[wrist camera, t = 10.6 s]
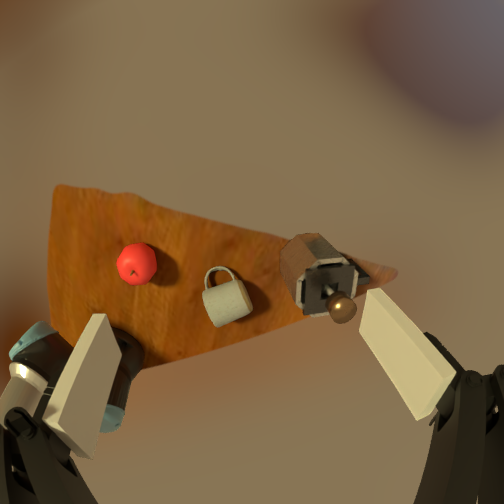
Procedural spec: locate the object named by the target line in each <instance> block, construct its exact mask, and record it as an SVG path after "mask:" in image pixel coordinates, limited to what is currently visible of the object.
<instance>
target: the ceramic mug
mask: <svg viewBox="0 0 504 504" xmlns="http://www.w3.org/2000/svg"><path fill="white" fill-rule="evenodd" d="M217 270H226V271H228V272H229V273H230V275H231V276H232V278H233V280H232V281H229V282H227V283H224V284H221V285H218V286H215V287H212V288H209V287H208V282H207V280H208V275H209V274H210V273H211V272H213V271H217ZM205 288H206V290H204V291H203V293H202V296H203V301H204V305H205V308H206V310H207V313H208V315H209V317H210V319H211V321H212V322H213V324H214V325H215V326H216V327H220V326H222V325H225V324H227V323H230V322H232V321H234V320H236V319H239V318H241V317H243V316H245V315H247V314H249V313H250V312H252V310H253V306H252V303H251V300H250V298H249V295H248V293H247V290H246V288H245V286H244V284H243V282H242V281H241V280H236V279H235V276H234V274H233V273H232V272H231V270H229V269H228V268H227V267H224V266H217V267H214V268H212V269H210V270H209V271H208V272H207V274H206V276H205Z"/></svg>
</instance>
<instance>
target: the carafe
mask: <svg viewBox="0 0 504 504" xmlns="http://www.w3.org/2000/svg"><path fill="white" fill-rule="evenodd" d="M327 263H328V266H326V267H317V266H318V265H319V264H327ZM280 273H281V275H282V277H283V279H284V281H285V283H286V285H287V287H288V289H289V291H290V294H291V296H292V298H293V300H294V302H295V304H296V305H297V306H298V307H300V308H301V309H302V310H303V315H310V316H311V317H319V316H324V315H330V314H329V312H328V311H327V309H326V307H325V302H326V300H327V298H328V297H329V295H328V293H327V292H326V291H325V289H324V288H323V286H322V284H328V285H329V286H330V287H331V289H332V290H333V291H334V292H336V291H344V292H346V293H347V294H348V295H349V297H350V298H351V299H352V298H353V297H354V296H355V293H356V286H357V285H363V284H369V279H370V276H369V275H368V274H367V273H366V272H365V271H364V270H362V269H361V268H360V267H359V266H358V265H357V264H356V263H355V262H354V261H353V260H352V259H345V258H344V257H343V256H342V255H341V254H340V253H339V252H338V251H337V250H336V249H335V248H334V247H333V246H332V245H331V244H330V243H328V241H327V240H325V239H324V238H323V237H322V236H321V235H320V234H319V233H305V234H298V235H296V236H295V237H294V238H293V239H291V240H290V241H289V242H288V243H287V244H286V245H285V247H284V248H283V249H282V250H281V251H280ZM304 279H305V281H303V280H304Z"/></svg>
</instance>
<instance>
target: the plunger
mask: <svg viewBox="0 0 504 504" xmlns="http://www.w3.org/2000/svg"><path fill="white" fill-rule="evenodd" d="M326 266H328V263H327V264H319V265H318V266H317V267H326ZM303 281H305V279H304V280H303ZM322 286H323V288H324V289H325V291H326V292H327V293H328V295H329V297H328V298H327V300H326V302H325V307H326V309H327V311H328V312H329V314H330V315H331V317H332V319H333V320H334V322H336V323H339V324H342V323H346V322H348V321H349V320H351V319H352V318H353V317H354V315H355V313H356V311H357V307H356V304H355V303H354V302H353V300H352V299H351V298H350V297H349V295H348V294H347V293H346V292H344V291H336V292H334V291H333V290H332V289H331V287H330V286H329V285H328V284H322Z"/></svg>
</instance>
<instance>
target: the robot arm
mask: <svg viewBox="0 0 504 504" xmlns="http://www.w3.org/2000/svg"><path fill="white" fill-rule="evenodd" d="M359 333H360V334H361V335H362V337H363V338H364V340H365V341H366V343H367V344H368V346H369V347H370V349H371V350H372V352H373V353H374V355H375V356H376V358H377V359H378V361H379V362H380V364H381V365H382V367H383V368H384V370H385V371H386V373H387V374H388V376H389V377H390V379H391V381H392V382H393V384H394V385H395V387H396V388H397V390H398V392H399V393H400V395H401V396H402V398H403V400H404V401H405V403H406V404H407V406H408V408H409V409H410V411H411V412H412V414H413V416H414V417H415V419H416V421H417V420H420V419H421V418H424V417H426V416H428V415H429V414H430V413H431V412H432V411H433V409H434V408H435V406H436V408H437V409H438V412H437V414H436V415H435V416H434V417H433V419H432V420H431V422H430V424H429V426H431V425H432V423H433V422H434V421H435V424H434V430H433V435H432V440H431V444H430V449H429V454H428V457H427V462H426V465H425V469H424V473H423V476H422V480H421V483H420V486H419V489H418V492H417V495H416V498H415V501H414V504H476V501H477V496H478V504H504V365H499V366H497V367H496V369H495V370H494V372H493V374H489V375H484V376H482V375H480V374H479V373H478V372H476V371H472V370H468V371H465V370H464V369H463V368H462V366H461V365H460V364H459V363H458V362H457V361H456V359H455V358H454V357H453V356H452V355H451V354H450V353H449V352H448V351H447V349H446V348H445V347H444V346H442V344H441V343H440V342H439V341H438V339H437V338H436V337H434V336H433V335H431V334H429V333H428V332H425V333H422V332H421V331H420V330H419V329H418V328H417V326H416V325H415V324H414V323H413V322H412V321H411V320H410V319H409V318H408V317H407V316H406V315H405V314H404V312H402V310H400V308H399V307H398V306H397V305H396V304H395V303H394V302H393V301H392V300H391V299H390V298H389V297H388V296H387V295H386V294H385V293H384V292H383V291H382V290H381V289H380V288H376V289H370V290H367V295H366V301H365V306H364V311H363V316H362V320H361V325H360V329H359ZM9 356H10V358H11V360H12V363H11V364H10V367H9V369H10V373H11V377H12V378H11V380H10V382H9V383H8V385H7V387H6V389H5V390H4V392H3V394H2V396H1V398H0V504H98V503H97V501H96V500H95V498H94V496H93V495H92V493H91V492H90V490H89V488H88V487H87V485H86V483H85V481H84V480H83V478H82V476H81V475H80V473H79V471H78V469H77V467H76V465H75V463H74V461H73V459H72V458H71V457H70V456H69V455H70V451H71V450H72V451H73V452H74V453H75V454H76V455H77V456H79V457H83V458H87V459H92V460H93V457H94V452H95V448H96V444H97V439H98V435H99V432H103V433H107V432H113V431H116V430H117V429H118V428H119V427H120V426H121V423H122V420H123V417H124V415H125V407H126V402H127V398H128V393H129V389H130V385H131V382H132V380H133V379H134V378H135V376H136V375H137V374H138V373H139V372H140V370H141V369H142V367H143V363H144V351H143V349H142V347H141V345H140V344H139V343H138V342H137V341H136V340H135V339H134V338H133V337H132V336H131V335H129V334H127V333H126V332H124V331H122V330H119V329H116V328H111V326H110V323H109V321H108V318H107V315H106V314H93V315H92V317H91V319H90V320H89V322H88V324H87V326H86V328H85V329H84V331H83V333H82V335H81V337H80V338H79V340H78V342H77V344H76V346H75V348H74V347H72V346H71V345H70V344H69V343H68V342H67V341H66V340H65V339H64V338H63V337H62V336H61V335H59V332H58V331H56V330H54V329H53V328H52V327H51V326H50V325H49V324H48V323H46V322H45V321H39V322H37V323H36V324H35V325H33V326H32V327H31V328H30V329H29V330H28V331H27V332H26V333H25V334H24V335H23V336H22V337H21V339H20V340H19V341H18V342H17V343H16V344H15V345H14V347H13V348H12V349H11V351H10V352H9ZM496 406H498V410H499V411H498V412H497V413H496V412H495V408H496Z"/></svg>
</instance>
